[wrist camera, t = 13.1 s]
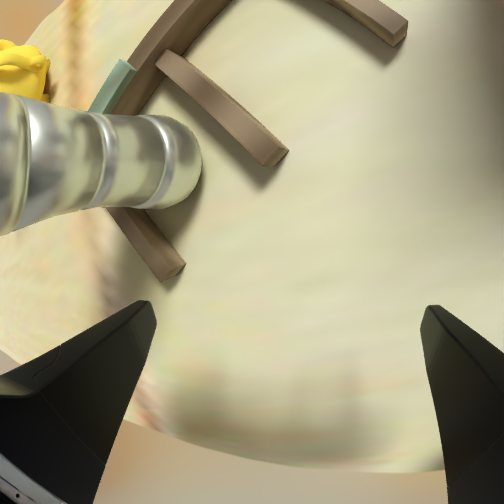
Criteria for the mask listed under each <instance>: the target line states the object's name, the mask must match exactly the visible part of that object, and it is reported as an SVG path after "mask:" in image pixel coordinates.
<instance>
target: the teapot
mask: <svg viewBox="0 0 504 504" xmlns="http://www.w3.org/2000/svg"><path fill="white" fill-rule="evenodd" d="M49 67H50V60H46V57H45V56H44V55H41V53H40V51H39V50H38V49H37V48H36V47H34V46H29V45H22V46H16V45H15V44H14V43H13V42H10V41H8V40H0V92H6V93H13V94H16V95H20V96H24V97H28V98H32V99H35V100H39V101H43V102H46V103H49V99H50V98H49V95H48V94H43V91H44V85H45V79H46V73H47V72H48V70H49Z"/></svg>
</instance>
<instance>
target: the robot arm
mask: <svg viewBox="0 0 504 504" xmlns="http://www.w3.org/2000/svg"><path fill="white" fill-rule="evenodd" d="M156 325H157V322H156V317H155V314H154V311H153V308H152V305H151V303H150V302H149V301H143V300H139V301H136V302H135V303H133V304H131V305H129V306H128V307H126V308H124V309H122V310H120V311H119V312H117V313H115V314H113V315H112V316H110V317H108V318H106V319H105V320H103V321H101V322H99V323H97V324H96V325H94V326H92V327H90V328H89V329H87V330H85V331H83V332H82V333H80V334H78V335H76V336H75V337H73V338H71V339H69V340H68V341H66V342H64V343H62V344H61V346H60V345H59V346H57V347H55V348H54V349H52V350H50V351H48V352H47V353H45V354H43V355H41V356H39V357H37V358H35V359H33V360H31V361H29V362H27V363H25V364H23V365H21V366H19V367H17V368H15V369H13V370H11V371H9V372H7V373H4V374H2V375H0V504H61V503H64V504H93V501H94V498H95V495H96V492H97V489H98V486H99V483H100V480H101V477H102V474H103V471H104V469H105V465H106V463H107V460H108V457H109V454H110V452H111V449H112V446H113V443H114V441H115V438H116V436H117V433H118V430H119V427H120V425H121V422H122V420H123V417H124V415H125V412H126V410H127V407H128V404H129V402H130V399H131V397H132V394H133V392H134V389H135V387H136V385H137V382H138V380H139V377H140V375H141V372H142V370H143V367H144V365H145V362H146V359H147V356H148V353H149V349H150V346H151V342H152V339H153V336H154V333H155V329H156ZM420 333H421V339H422V345H423V351H424V358H425V365H426V371H427V376H428V380H429V384H430V388H431V393H432V397H433V402H434V406H435V411H436V416H437V421H438V426H439V432H440V438H441V444H442V450H443V457H444V464H445V472H446V481H447V492H448V504H504V353H503V352H502V351H500V350H499V349H498V348H497V347H495V346H494V345H493V344H491V343H490V342H489V341H487V340H486V339H485V338H484V337H482V336H481V335H480V334H478V333H477V332H476V331H474V330H473V329H472V328H470V327H469V326H468V325H466V324H465V323H463V322H462V321H461V320H459V319H458V318H457V317H455V316H454V315H452V314H451V313H450V312H448V311H447V310H446V309H444V308H443V307H441V306H440V305H428V306H427V307H426V310H425V313H424V316H423V320H422V323H421V327H420Z"/></svg>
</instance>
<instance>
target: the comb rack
mask: <svg viewBox="0 0 504 504" xmlns="http://www.w3.org/2000/svg"><path fill="white" fill-rule="evenodd" d="M230 1H231V0H174V2H173V3H172V4H171V5H170V6H169V7H168V9H167V10H166V11H165V12H164V13H163V14H162V16H161V17H160V18H159V19H158V20H157V22H156V23H155V24H154V25H153V27H152V28H151V29H150V31H149V32H148V33H147V34H146V36H145V37H144V38H143V40H142V41H141V42H140V44H139V45H138V46H137V48H136V49H135V51H134V52H133V53H132V55H131V56H130V58H129V59H128V61H124V60H121V59H119V61H118V62H117V64H116V65H115V67H114V68H113V70H112V72H111V73H110V75H109V76H108V78H107V79H106V81H105V83H104V84H103V86H102V88H101V89H100V91H99V93H98V94H97V96H96V98H95V100H94V101H93V103H92V105H91V107H90V108H89V110H88V111H89V112H94V113H98V114H111V115H128V116H136V115H138V114H139V112H140V111H141V109H142V108H143V106H144V105H145V104H146V102H147V101H148V99H149V98H150V96H151V95H152V94H153V92H154V91H155V89H156V88H157V87H158V85H159V84H160V82H161V81H162V80H163V78H164V77H165V76H166V75H167V76H168V77H170V78H171V79H172V80H173V81H174V82H175V83H176V84H178V85H179V86H180V87H181V88H182V89H183V90H184V91H185V92H186V93H188V94H189V95H190V96H191V97H192V98H193V99H194V100H195V101H196V102H197V103H198V104H200V105H201V106H202V107H203V108H204V109H205V110H206V111H207V112H208V113H209V114H210V115H211V116H212V117H213V118H215V119H216V120H217V121H218V122H219V123H220V124H221V125H222V126H223V127H224V128H225V129H226V130H227V131H228V132H229V133H230V134H231V135H232V136H233V137H234V138H235V139H236V140H237V141H238V142H239V143H240V144H241V145H242V146H243V147H244V148H245V149H247V150H248V151H249V152H250V153H251V154H252V155H253V156H254V157H255V159H256V160H257V161H258V162H259V163H260V164H261V165H264V166H271V167H274V166H275V165H276V164H277V163H278V162H279V160H280V159H281V158H282V157H283V156H284V155H285V154H286V153H287V152H288V151H289V150H288V149H287V148H286V147H285V146H284V145H283V144H282V143H281V142H280V141H279V140H278V139H277V138H276V137H275V136H274V135H273V134H272V133H271V132H270V131H269V130H267V129H266V128H265V127H264V126H263V125H262V124H261V123H260V122H259V121H258V120H257V119H256V118H254V117H253V116H252V115H251V114H250V113H249V112H248V111H247V110H246V109H244V108H243V107H242V106H241V105H240V104H239V103H238V102H237V101H235V100H234V99H233V98H232V97H231V96H230V95H228V94H227V93H226V92H225V91H224V90H223V89H221V88H220V87H219V86H218V85H217V84H216V83H214V82H213V81H212V80H211V79H210V78H208V77H207V76H206V75H205V74H203V73H202V72H201V71H200V70H198V69H197V68H196V67H195V66H193V65H192V64H191V63H190V62H188V61H187V60H186V59H185V58H183V57H182V56H181V55H182V54H183V53H184V52H185V50H186V49H187V48H188V47H189V46H190V44H191V43H192V42H193V41H194V40H195V38H196V37H197V36H198V35H199V34H200V33H201V32H202V30H203V29H204V28H205V27H206V26H207V25H208V24H209V23H210V22H211V20H212V19H213V18H214V17H215V16H216V15H217V14H218V13H219V12H220V11H221V10H222V9H223V8H224V7H225V6H226V5H227V4H228V3H229V2H230ZM325 1H326V2H328V3H330V4H331V5H333V6H335V7H336V8H338V9H340V10H341V11H343V12H344V13H346V14H347V15H349V16H350V17H352V18H353V19H355V20H356V21H358V22H359V23H361V24H362V25H364V26H365V27H366V28H368V29H369V30H371V31H372V32H373V33H375V34H376V35H377V36H379V37H380V38H381V39H383V40H384V41H385V42H387V43H388V44H389V45H390V46H392V47H394V46H395V45H396V44H398V43H399V42H400V41H401V40H402V39H403V38H404V37H405V36H406V35H407V28H408V21H407V20H406V19H405V18H403V17H402V16H401V15H399V14H398V13H396V12H395V11H394V10H392V9H391V8H389V7H388V6H386V5H385V4H383V3H382V2H380V1H379V0H325ZM106 208H107V210H108V211H109V213H110V214H111V216H112V217H113V218H114V220H115V221H116V223H117V224H118V226H119V227H120V228H121V230H122V231H123V233H124V234H125V235H126V237H127V238H128V240H129V241H130V242H131V244H132V245H133V246H134V248H135V249H136V250H137V252H138V253H139V255H140V256H141V257H142V259H143V260H144V261H145V262H146V264H147V265H148V266H149V268H150V269H151V270H152V272H153V273H154V274H155V276H156V277H157V278H158V279H159V281H160V282H162V281H164V280H166V279H169V278H171V277H173V276H175V275H177V273H178V272H179V271H180V270H181V269H182V268H183V266H184V265H185V264H186V263H185V262H184V260H183V259H182V258H181V257H180V255H179V254H178V253H177V252H176V251H175V249H174V248H173V247H172V246H171V244H170V243H169V242H168V241H167V239H166V238H165V237H164V236H163V234H162V233H161V232H160V230H159V229H158V228H157V227H156V225H155V224H154V223H153V222H152V220H151V219H150V218H149V216H148V215H147V214H146V212H145V211H144V210H143V209H138V208H132V207H106Z"/></svg>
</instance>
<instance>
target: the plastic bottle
mask: <svg viewBox="0 0 504 504" xmlns="http://www.w3.org/2000/svg"><path fill="white" fill-rule="evenodd" d="M201 167H202V156H201V151H200V146H199V143H198V141H197V139H196V137H195V135H194V134H193V132H192V131H191V130H190V129H189V128H188V127H187V126H185V125H184V124H182V123H180V122H179V121H177V120H175V119H173V118H171V117H168V116H165V115H136V116H128V115H111V114H98V113H94V112H89V111H82V110H78V109H73V108H67V107H62V106H57V105H53V104H50V103H46V102H43V101H39V100H35V99H32V98H28V97H24V96H20V95H16V94H13V93H6V92H0V236H2V235H6V234H8V233H10V232H12V231H16V230H18V229H21V228H24V227H26V226H29V225H32V224H34V223H37V222H40V221H42V220H45V219H48V218H51V217H54V216H58V215H62V214H67V213H71V212H76V211H79V210H86V209H90V208H95V207H132V208H138V209H153V210H160V209H164V208H168V207H170V206H172V205H175V204H177V203H179V202H181V201H183V200H184V199H185V198H187V197H188V196H189V195H190V194H191V192H192V191H193V190H194V188H195V186H196V184H197V182H198V179H199V176H200V173H201Z"/></svg>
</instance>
